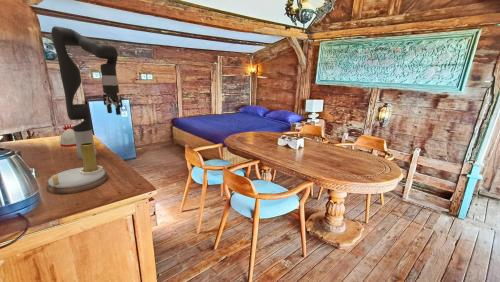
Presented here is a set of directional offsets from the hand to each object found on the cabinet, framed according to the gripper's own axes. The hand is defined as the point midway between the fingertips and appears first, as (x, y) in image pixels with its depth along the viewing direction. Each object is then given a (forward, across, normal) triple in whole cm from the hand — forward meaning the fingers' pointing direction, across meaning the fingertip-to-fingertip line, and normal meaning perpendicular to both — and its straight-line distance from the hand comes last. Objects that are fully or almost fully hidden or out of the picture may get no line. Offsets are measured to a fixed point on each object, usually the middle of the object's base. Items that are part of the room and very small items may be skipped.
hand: (114, 113), depth 131 cm
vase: (+26, +8, -19) cm, 33 cm away
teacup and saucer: (+31, -85, +7) cm, 91 cm away
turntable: (+27, +8, -25) cm, 38 cm away
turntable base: (+30, +8, -26) cm, 40 cm away
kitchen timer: (+30, -66, +2) cm, 73 cm away
